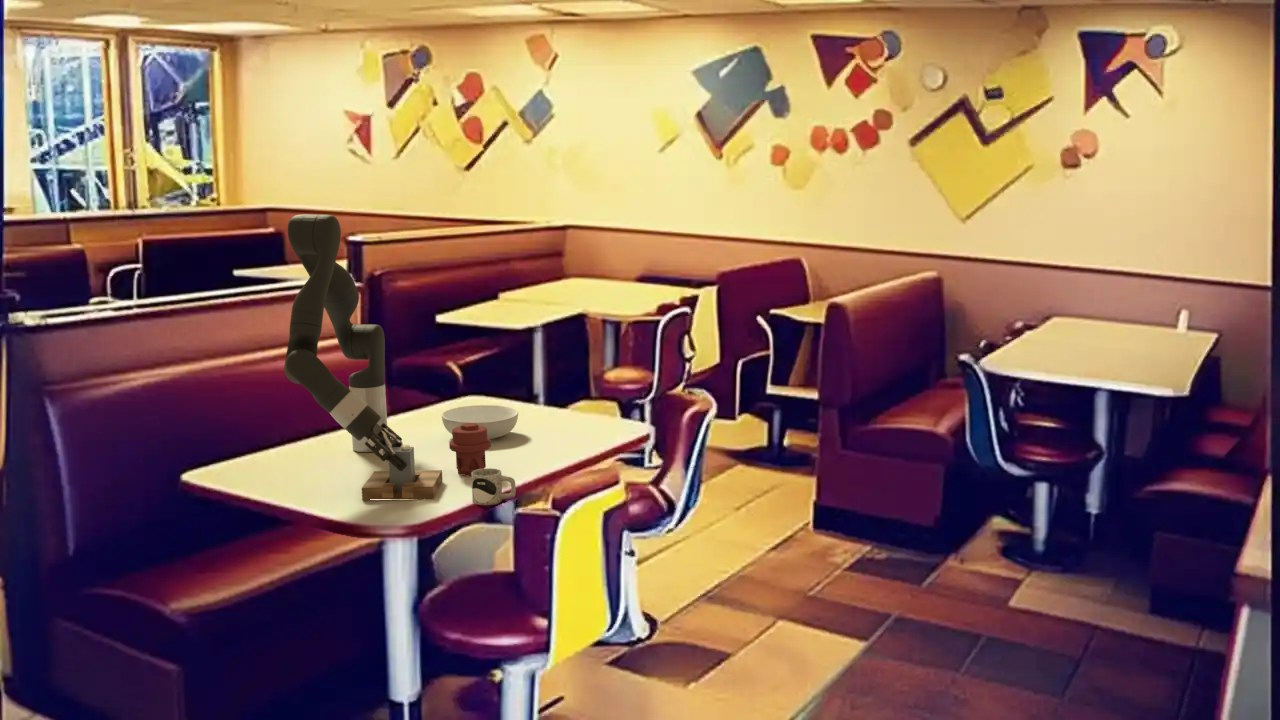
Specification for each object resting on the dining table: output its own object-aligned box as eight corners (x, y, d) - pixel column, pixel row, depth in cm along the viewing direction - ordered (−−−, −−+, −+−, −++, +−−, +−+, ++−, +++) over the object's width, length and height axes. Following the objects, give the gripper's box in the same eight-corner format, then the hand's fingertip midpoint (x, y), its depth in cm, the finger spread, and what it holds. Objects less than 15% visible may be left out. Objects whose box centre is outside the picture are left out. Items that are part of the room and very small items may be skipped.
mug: (468, 504, 260) (467, 475, 259) (477, 496, 267) (476, 467, 266) (511, 506, 259) (510, 477, 258) (520, 497, 265) (519, 469, 264)
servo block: (394, 486, 273) (391, 443, 272) (415, 486, 273) (413, 443, 272) (390, 492, 269) (387, 448, 267) (412, 491, 269) (409, 448, 267)
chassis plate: (374, 483, 278) (374, 471, 277) (442, 482, 278) (441, 470, 278) (362, 500, 264) (361, 487, 264) (433, 499, 265) (432, 486, 264)
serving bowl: (441, 448, 311) (440, 422, 310) (444, 430, 332) (442, 406, 330) (519, 444, 314) (519, 419, 313) (517, 426, 334) (517, 403, 333)
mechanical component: (442, 475, 285) (472, 466, 292) (470, 481, 278) (500, 472, 286) (439, 425, 282) (470, 418, 290) (468, 431, 276) (498, 423, 284)
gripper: (359, 410, 260) (413, 460, 263) (372, 397, 275) (423, 444, 277) (336, 434, 261) (391, 483, 264) (351, 420, 275) (402, 466, 278)
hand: (407, 463), depth 270 cm, fingers open, 8 cm apart
